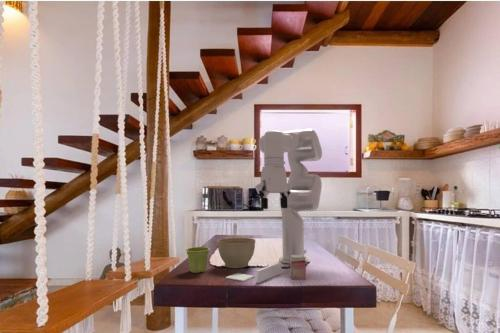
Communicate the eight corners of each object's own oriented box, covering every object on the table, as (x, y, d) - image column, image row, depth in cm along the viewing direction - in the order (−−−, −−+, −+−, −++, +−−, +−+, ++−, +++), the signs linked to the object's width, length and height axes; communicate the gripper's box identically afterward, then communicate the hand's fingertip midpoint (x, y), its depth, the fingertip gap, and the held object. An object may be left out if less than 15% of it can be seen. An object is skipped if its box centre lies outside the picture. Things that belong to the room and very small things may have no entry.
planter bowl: (258, 262, 144) (258, 237, 145) (251, 271, 129) (251, 243, 129) (223, 261, 148) (223, 236, 148) (212, 270, 132) (212, 242, 133)
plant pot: (205, 274, 125) (205, 251, 125) (181, 273, 127) (182, 250, 127) (212, 268, 134) (212, 247, 134) (191, 267, 136) (191, 246, 136)
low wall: (279, 272, 127) (279, 262, 127) (281, 272, 126) (281, 262, 126) (256, 282, 113) (256, 270, 114) (259, 282, 113) (258, 271, 113)
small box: (292, 279, 116) (291, 257, 117) (290, 276, 121) (289, 254, 121) (306, 279, 117) (305, 256, 117) (303, 276, 121) (303, 254, 122)
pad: (237, 274, 125) (237, 273, 125) (254, 277, 120) (254, 275, 120) (225, 278, 119) (225, 277, 119) (243, 281, 115) (243, 280, 115)
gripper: (284, 165, 134) (284, 207, 132) (250, 163, 124) (250, 208, 122) (297, 163, 128) (297, 208, 126) (262, 161, 118) (262, 209, 116)
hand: (274, 208), depth 124 cm, fingers open, 9 cm apart
